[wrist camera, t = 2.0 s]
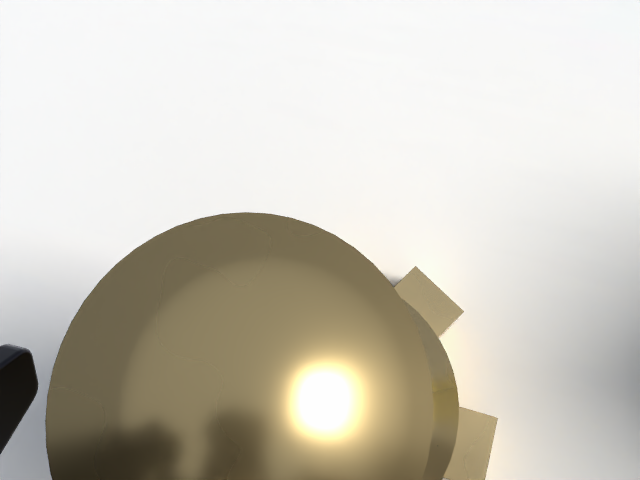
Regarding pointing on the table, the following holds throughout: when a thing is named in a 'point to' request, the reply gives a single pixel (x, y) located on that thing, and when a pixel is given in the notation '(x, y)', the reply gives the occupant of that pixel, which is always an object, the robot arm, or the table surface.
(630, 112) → the table surface
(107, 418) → the planet gear
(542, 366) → the table surface
